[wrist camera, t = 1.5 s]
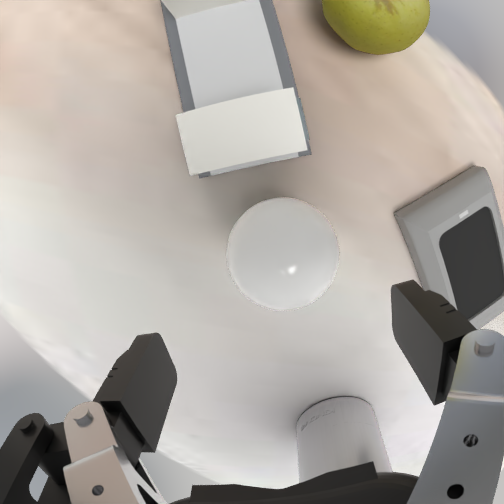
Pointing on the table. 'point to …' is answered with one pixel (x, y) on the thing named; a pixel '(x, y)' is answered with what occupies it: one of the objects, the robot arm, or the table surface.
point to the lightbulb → (282, 254)
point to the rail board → (229, 59)
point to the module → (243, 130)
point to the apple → (377, 23)
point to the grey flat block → (459, 244)
